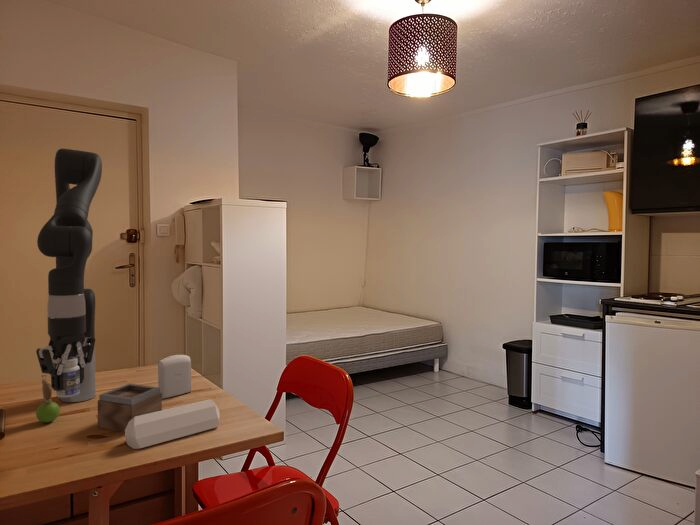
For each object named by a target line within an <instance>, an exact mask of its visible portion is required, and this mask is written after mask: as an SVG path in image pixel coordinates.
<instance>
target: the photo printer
mask: <svg viewBox="0 0 700 525" xmlns="http://www.w3.org/2000/svg"><path fill="white" fill-rule="evenodd" d="M157 376H158V378H157V384H158V385H157V387H159V388H160V393H162V400H163V399H167V398H171V397H176V396H180V395H184V394H186V393H190V392H192V360H191V357H190V356H189V355H186V354H175V355H174V354H173V355H169V356H167V357H165V358H163V359H161V360H159V361H158V364H157Z"/></svg>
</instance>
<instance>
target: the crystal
mask: <svg viewBox="0 0 700 525" xmlns="http://www.w3.org/2000/svg"><path fill="white" fill-rule="evenodd" d="M220 414H221V413H220V409H219V407H218V406H217V404H216V403H215V401H214V400H213V399H212V398H210V399H206V400H205V399H204V400H201V401H197V402H193V403H187V404H184V405H179V406H175V407H171V408H167V409H162V410H161V411H157V412H153V413H148V414H144V415H140V416H135V417H134V418H133V419H131V420H130V421H129V422H128V425H127V427H126V429H125V432H124V438H125V441H126V444H127V445H128V446H129V447H130V448H131V449H134V450H137V449H138V450H139V449H143V448H146V447H150V446H153V445H157V444H161V443H164V442H168V441H172V440H175V439H179V438H183V437H187V436H190V435H193V434H198V433H201V432H204V431H207V430H208V431H209V430H211V429H212V430H213V429H215V428H218V427H219V424H220Z"/></svg>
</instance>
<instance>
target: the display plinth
mask: <svg viewBox="0 0 700 525" xmlns="http://www.w3.org/2000/svg"><path fill="white" fill-rule="evenodd" d="M98 395H99V397H98V398H99V399H98V400H97V428H99V429H100V428H101V429H105V430H106V429H107V430H112V431H116V432H117V431H118V432H124V433H125V429H126V427H127V425H128V422H129V421H130V420H131V419H133V418H134V417H135V416H140V415H144V414H148V413H153V412H157V411H161V410H163V404H162V403H163V402H162V401H163V399H162V393H160V388H159V387H158V386H150V385H144V384H143V385H142V384H136V383H127V384H124V385H122V386H119V387H117V388H114V389H111V390H108V391H106V392H103V393H100V394H98Z"/></svg>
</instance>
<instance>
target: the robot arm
mask: <svg viewBox="0 0 700 525" xmlns="http://www.w3.org/2000/svg"><path fill="white" fill-rule="evenodd" d="M102 172H103V161H102V158H101V157H100V155H99V154H98V153H95V152H91V151H84V150H78V149H70V148H59V149H57V151H56V153H55V157H54V182H55V196H56V197H55V200H56V201H55V202H56V204H55V208H54V213H53V215H52V216H51V218H50V219H48V221H47V222H45V224H44V225H43V226H42V227H41V229H40V231H39V233H38V236H37V239H36V240H37V241H36V244H37V248H38V250H39V252H41V254H43V256H45V257H48V258H49V257H50V258H55V268H52V269H51V270H49V272H48V274H47V276H48V277H47V281H48V282H47V284H48V288H47V290H48V293H47V294H48V296H47V309H46V310H47V334H48V336H49V342H48V344H47V346H45V347H43V348H39V347H38V348H37V349H36V356H37V360H38V363H39V367H40V370H41V373H42V374H46V375H47V374H48V375H50V378H51V379H50V385H51V389H52V391H55V392H56V391H61V390H62V389H63V374H61V373H62V370H63V366H64V365H65V364H66V362H67V359H68V358H69V357H77V358H78V364H77V365H78V366H79V368H80V393H79V394H77V395H75V396H72V397H58V399H59V400H61V402H64V403H79V402H85V401H88V400H92V399H94V398H95V397H96V395H97V394H96V347H95V346H96V336H95V335H96V334H95V332H96V331H95V323H96V320H95V319H96V318H95V316H96V294H95V292H94V290H92V288H85V270H86V266H87V265H86V264H87V261H88V258H89V257H90V255H91V253H92V250H93V238H94V236H93V234H94V233H93V228H92V225H91V223H90V221H89V220H88V218H89V216H88V215H89V211H90V206H91V204H92V201H93V199H94V197H95V195H96V193H97V190H98V188H99V186H100V182H101V179H102V175H103V174H102ZM70 185H75V186H73V187H70ZM58 359H60V360H58Z"/></svg>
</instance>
